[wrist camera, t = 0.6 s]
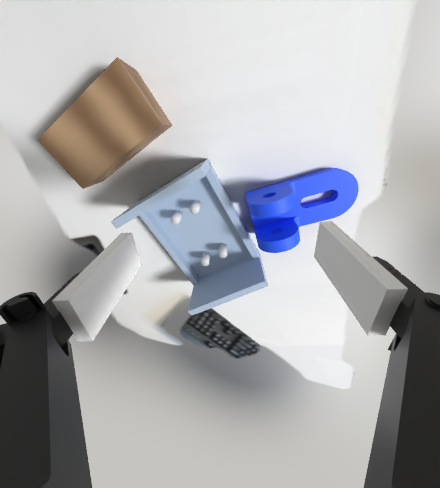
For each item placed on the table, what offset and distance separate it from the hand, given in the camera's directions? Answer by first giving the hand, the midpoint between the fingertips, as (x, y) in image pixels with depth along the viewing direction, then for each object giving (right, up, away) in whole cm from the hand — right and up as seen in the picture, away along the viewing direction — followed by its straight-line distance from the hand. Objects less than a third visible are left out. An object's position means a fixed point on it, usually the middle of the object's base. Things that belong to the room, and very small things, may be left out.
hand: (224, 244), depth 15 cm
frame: (-4, +3, +26) cm, 26 cm away
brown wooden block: (-17, +18, +18) cm, 31 cm away
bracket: (+14, +8, +23) cm, 28 cm away
